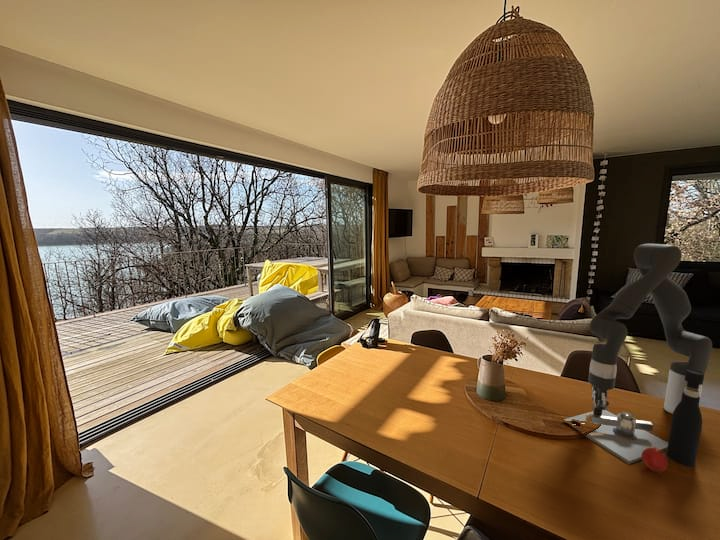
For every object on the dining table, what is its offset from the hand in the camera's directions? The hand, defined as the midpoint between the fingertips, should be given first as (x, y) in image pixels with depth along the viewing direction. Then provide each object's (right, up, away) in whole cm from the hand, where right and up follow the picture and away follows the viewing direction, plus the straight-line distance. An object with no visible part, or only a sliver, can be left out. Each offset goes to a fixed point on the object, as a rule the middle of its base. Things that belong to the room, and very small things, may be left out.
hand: (597, 416), depth 112 cm
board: (+4, -5, -2) cm, 7 cm away
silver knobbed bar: (+4, -4, -3) cm, 7 cm away
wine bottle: (+16, -7, -14) cm, 22 cm away
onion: (+2, -8, -19) cm, 20 cm away
